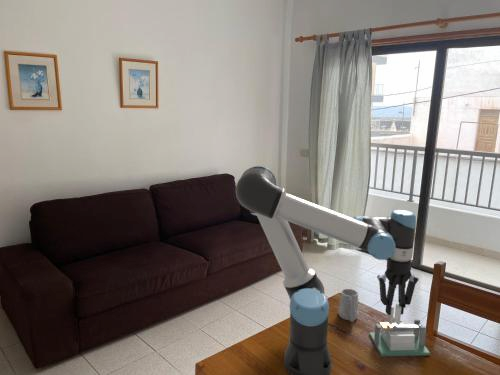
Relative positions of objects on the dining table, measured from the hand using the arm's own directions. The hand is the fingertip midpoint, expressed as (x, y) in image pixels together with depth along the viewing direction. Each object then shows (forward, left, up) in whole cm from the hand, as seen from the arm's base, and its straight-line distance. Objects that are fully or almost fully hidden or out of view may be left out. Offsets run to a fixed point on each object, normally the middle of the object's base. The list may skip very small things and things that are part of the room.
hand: (393, 322), depth 130 cm
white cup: (-10, +17, -9) cm, 21 cm away
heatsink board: (+2, 0, -8) cm, 9 cm away
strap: (+3, 0, -2) cm, 4 cm away
